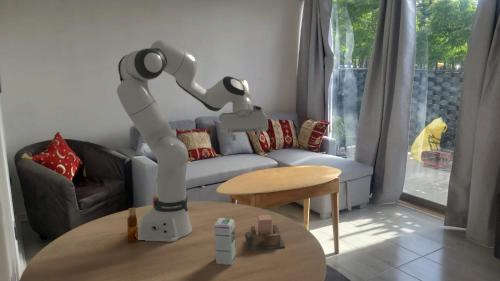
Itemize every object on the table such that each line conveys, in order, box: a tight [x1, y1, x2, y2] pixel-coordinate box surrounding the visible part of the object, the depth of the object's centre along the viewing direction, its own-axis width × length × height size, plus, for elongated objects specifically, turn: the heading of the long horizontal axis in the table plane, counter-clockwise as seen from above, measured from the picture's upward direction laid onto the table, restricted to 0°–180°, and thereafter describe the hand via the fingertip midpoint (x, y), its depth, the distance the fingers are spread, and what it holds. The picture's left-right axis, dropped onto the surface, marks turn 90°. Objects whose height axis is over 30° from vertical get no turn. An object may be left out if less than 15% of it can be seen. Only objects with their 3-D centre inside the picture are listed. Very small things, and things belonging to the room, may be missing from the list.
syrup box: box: [213, 217, 237, 266], centre depth 132 cm, size 6×6×14 cm
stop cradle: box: [245, 224, 286, 251], centre depth 146 cm, size 13×13×5 cm
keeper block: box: [257, 214, 273, 235], centre depth 145 cm, size 4×4×9 cm
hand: (245, 139), depth 160 cm, fingers open, 8 cm apart
